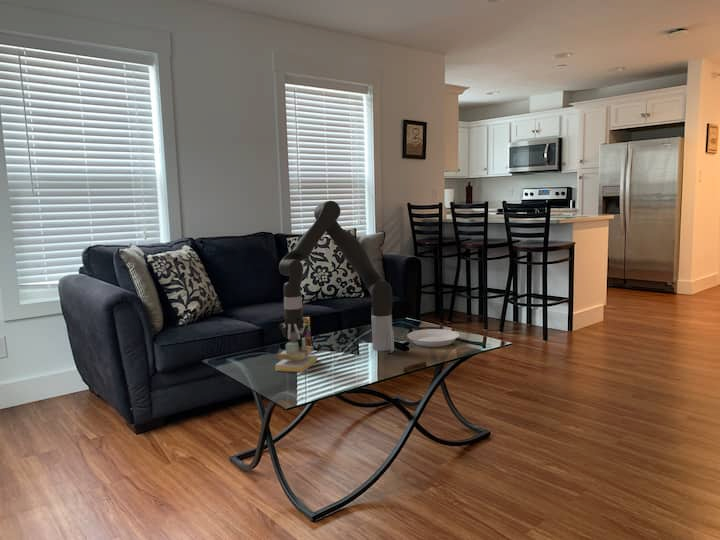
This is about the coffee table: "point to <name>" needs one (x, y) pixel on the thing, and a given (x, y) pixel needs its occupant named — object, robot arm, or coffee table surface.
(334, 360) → the coffee table surface
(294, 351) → the block
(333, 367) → the coffee table surface
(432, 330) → the white plate
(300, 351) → the tan boxy piece
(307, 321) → the candy box
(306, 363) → the block
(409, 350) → the coffee table surface
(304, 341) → the block
